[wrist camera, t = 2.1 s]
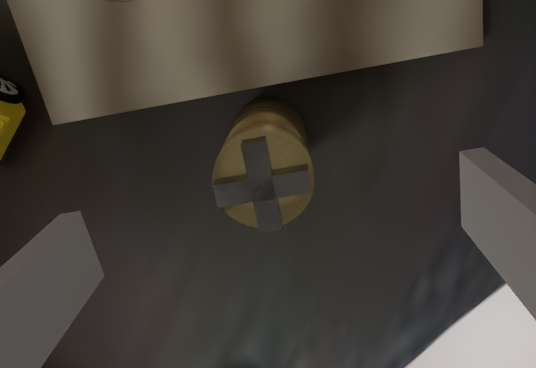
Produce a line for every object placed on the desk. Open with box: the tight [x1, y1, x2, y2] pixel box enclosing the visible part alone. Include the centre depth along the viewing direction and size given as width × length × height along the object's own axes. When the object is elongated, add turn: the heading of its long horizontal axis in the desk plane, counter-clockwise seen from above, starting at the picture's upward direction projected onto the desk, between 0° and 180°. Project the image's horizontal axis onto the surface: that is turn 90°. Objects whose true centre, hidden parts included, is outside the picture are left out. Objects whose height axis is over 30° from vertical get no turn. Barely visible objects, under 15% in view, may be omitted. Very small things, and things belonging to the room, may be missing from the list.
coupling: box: [212, 97, 315, 234], centre depth 22 cm, size 4×4×9 cm
